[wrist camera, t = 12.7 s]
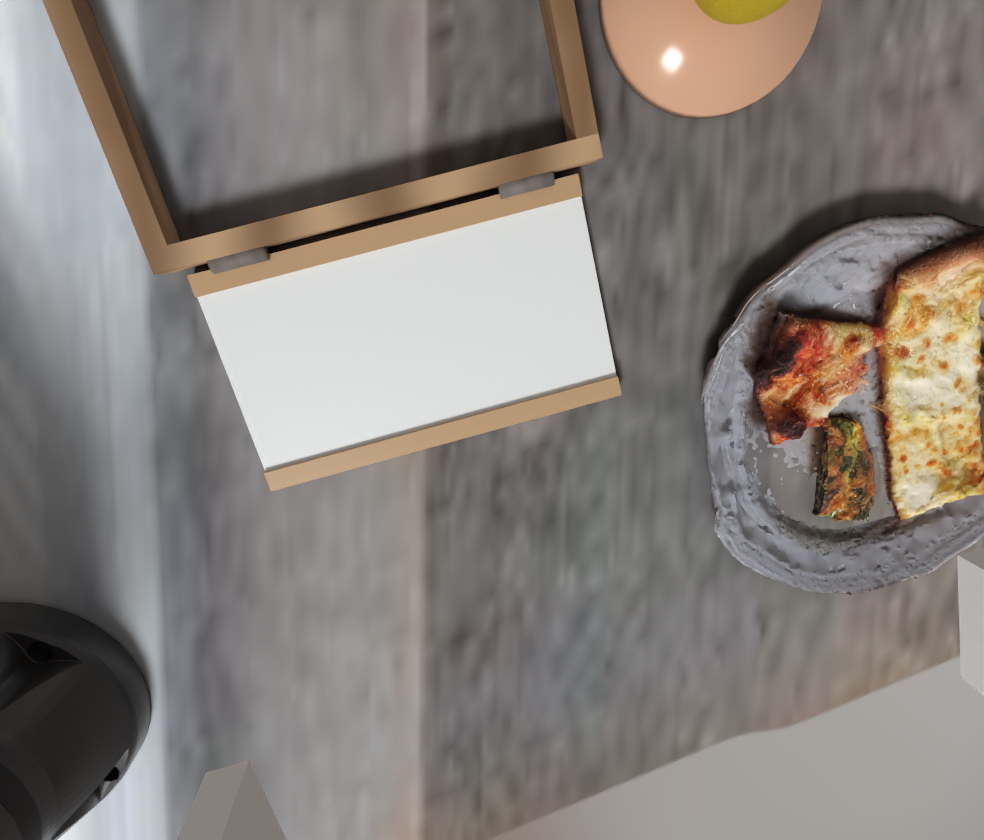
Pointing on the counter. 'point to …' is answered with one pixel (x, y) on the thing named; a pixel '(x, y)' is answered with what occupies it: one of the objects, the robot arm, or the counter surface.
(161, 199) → the wooden frame
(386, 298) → the lid
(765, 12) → the lemon
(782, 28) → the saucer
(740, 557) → the food plate
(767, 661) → the counter surface
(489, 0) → the counter surface
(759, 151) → the counter surface
